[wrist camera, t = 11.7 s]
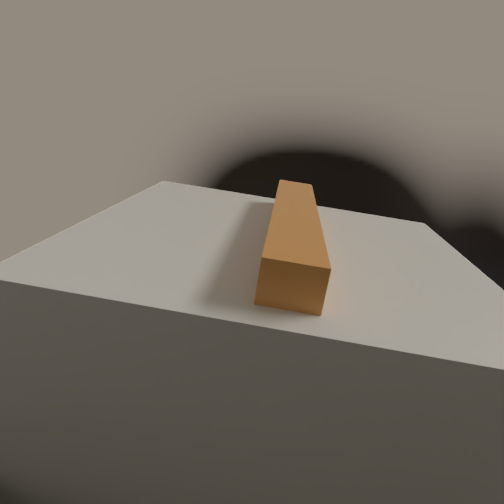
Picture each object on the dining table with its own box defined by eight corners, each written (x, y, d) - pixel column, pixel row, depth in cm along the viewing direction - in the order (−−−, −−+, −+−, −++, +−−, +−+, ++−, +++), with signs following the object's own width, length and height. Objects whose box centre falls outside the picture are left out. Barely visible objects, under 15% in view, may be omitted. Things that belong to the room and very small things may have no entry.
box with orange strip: (141, 466, 14) (164, 158, 11) (342, 506, 14) (430, 200, 11) (12, 763, 8) (-31, 222, 4) (384, 850, 8) (649, 339, 4)
